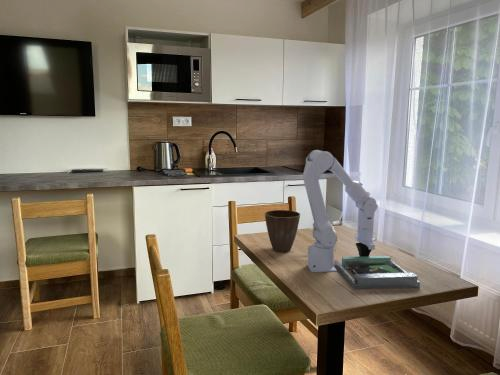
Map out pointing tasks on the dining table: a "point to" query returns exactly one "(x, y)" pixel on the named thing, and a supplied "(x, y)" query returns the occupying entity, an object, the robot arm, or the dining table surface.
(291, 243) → the plant pot
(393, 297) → the dining table surface
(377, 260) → the long teal rectangular bar
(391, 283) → the shallow rimmed tray
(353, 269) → the disk drive
